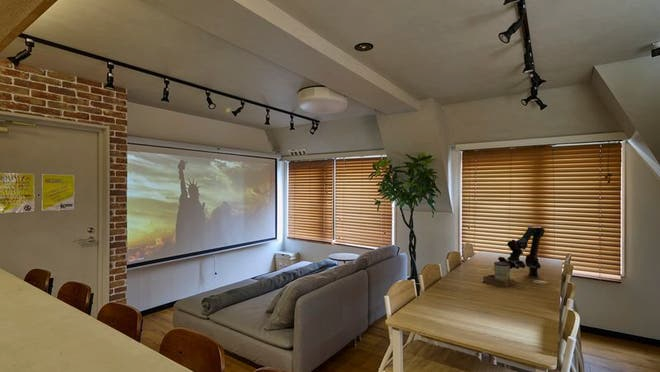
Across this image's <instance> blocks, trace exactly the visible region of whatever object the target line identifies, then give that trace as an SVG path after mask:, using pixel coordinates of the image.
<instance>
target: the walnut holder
mask: <svg viewBox="0 0 660 372" xmlns="http://www.w3.org/2000/svg"><path fill="white" fill-rule="evenodd" d="M482 277H483V278H482V279H483V282H484V283H488V284H491V285H496V286H498V287H500V288H501V287H502V288H507V287H511V286H514V285H515V279H514V278H510V280H505V281H502V280H498V279H495V273H493V274H487V275H483V276H482Z"/></svg>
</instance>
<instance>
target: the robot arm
mask: <svg viewBox="0 0 660 372" xmlns="http://www.w3.org/2000/svg"><path fill="white" fill-rule="evenodd" d="M526 229H527V230H525V232H524V234H523V235H522V236H521V238H518V239H517V240H515V239H511V240H510V241H508V242H507V244H506V245H507V246H508V248H509V249H510V251H512V252H510V253H509V257H507V258H505V257H504V256H498V259H497V260H498V262H507V263H509V264H510V270H512V269H517V270H519V269H520V268H521V269H525V268H526V267H528V269H529V270H528V276H533V277H539V273H538V272H539V270H540V269H541V267H542V265H541V264H540V262H539V258H538V252H539V245H540V241H541V238H542V237H543V236H544V235H545V232H546V231H545V228H544V227H542V226H535V225H534V226H528V227H527V228H526ZM531 238H532V241H531V245H530V251H529V254H528V255H526V256H525V260H524V261H523V260H520V256H521V255H523V254H524V252H523V250H526V249H527V248H528V245H529V244H528V243H529V240H531Z"/></svg>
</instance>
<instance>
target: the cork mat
mask: <svg viewBox="0 0 660 372" xmlns="http://www.w3.org/2000/svg"><path fill="white" fill-rule="evenodd" d="M531 283H532V284H535V285H540V286H541V285H542V286H547V285H548V284H549V282H547V281H545V280H538V279H534V280H532V281H531Z"/></svg>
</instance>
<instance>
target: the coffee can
mask: <svg viewBox="0 0 660 372" xmlns="http://www.w3.org/2000/svg"><path fill="white" fill-rule="evenodd" d="M493 264H494V271H493V272H494V276H495V279H498V280H502V281H505V280H510V279H511V273H510V272H511V269H510V264H509V263H507V262H500V261H494V263H493Z"/></svg>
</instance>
